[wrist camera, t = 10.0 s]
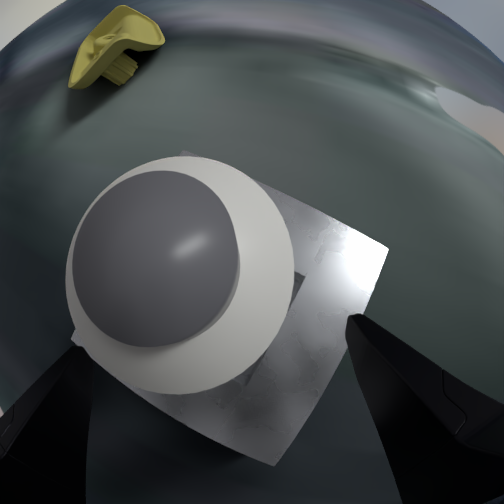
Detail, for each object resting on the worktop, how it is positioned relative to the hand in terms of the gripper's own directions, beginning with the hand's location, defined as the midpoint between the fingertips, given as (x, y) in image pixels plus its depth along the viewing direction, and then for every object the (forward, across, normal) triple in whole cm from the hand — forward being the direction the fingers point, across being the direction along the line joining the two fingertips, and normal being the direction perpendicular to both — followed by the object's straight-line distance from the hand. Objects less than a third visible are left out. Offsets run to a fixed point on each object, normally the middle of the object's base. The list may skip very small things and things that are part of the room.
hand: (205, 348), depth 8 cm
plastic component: (+30, +11, -17) cm, 37 cm away
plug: (+7, 0, +4) cm, 8 cm away
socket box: (+8, 0, +5) cm, 9 cm away
